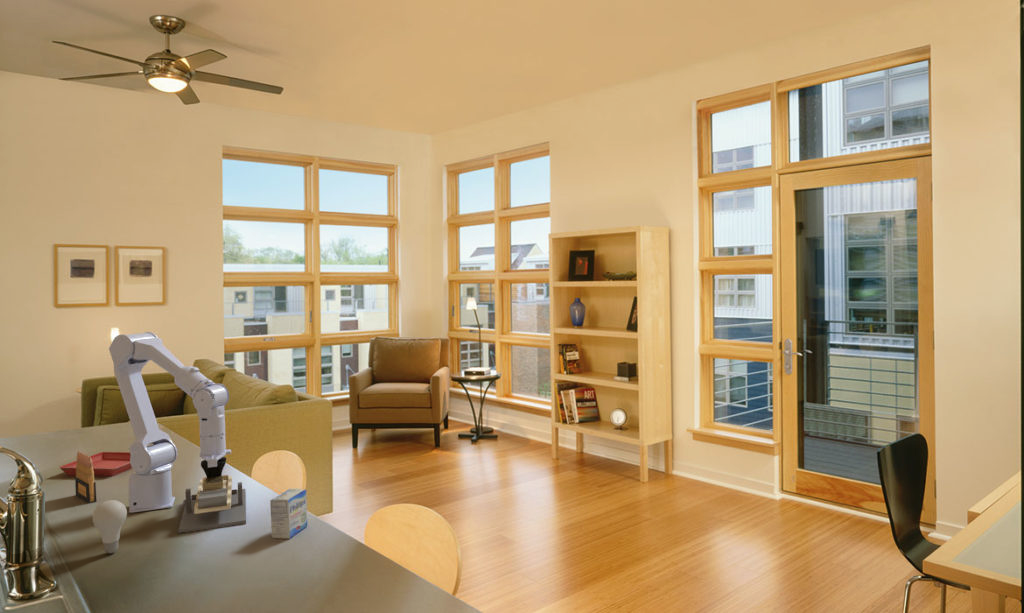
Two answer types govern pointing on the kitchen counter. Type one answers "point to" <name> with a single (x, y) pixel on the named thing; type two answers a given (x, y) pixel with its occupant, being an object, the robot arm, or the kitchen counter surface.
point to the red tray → (104, 464)
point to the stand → (214, 513)
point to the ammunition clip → (85, 478)
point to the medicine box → (288, 513)
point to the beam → (214, 497)
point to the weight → (212, 483)
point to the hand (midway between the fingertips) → (214, 488)
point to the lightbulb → (110, 523)
